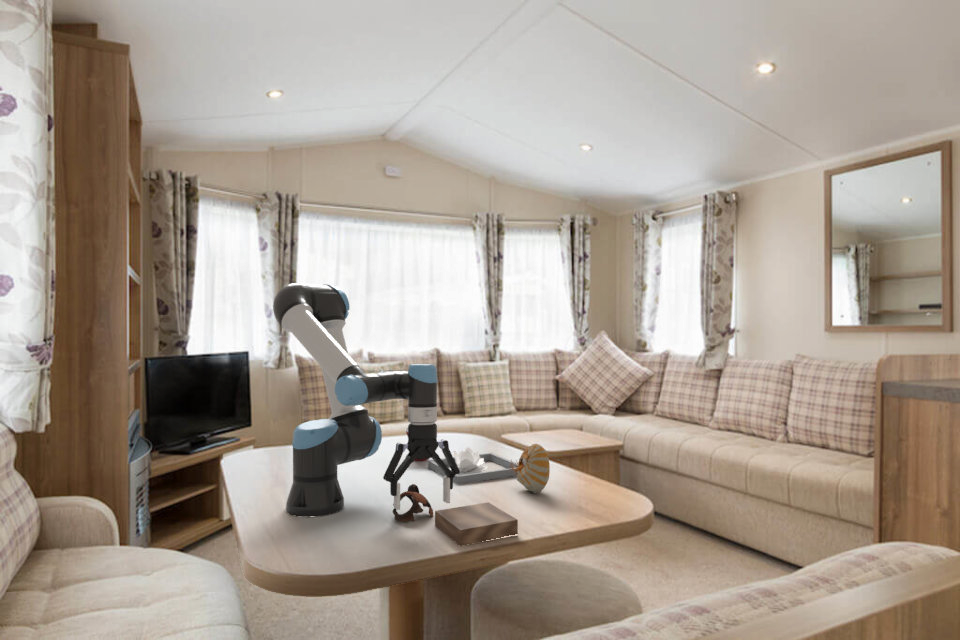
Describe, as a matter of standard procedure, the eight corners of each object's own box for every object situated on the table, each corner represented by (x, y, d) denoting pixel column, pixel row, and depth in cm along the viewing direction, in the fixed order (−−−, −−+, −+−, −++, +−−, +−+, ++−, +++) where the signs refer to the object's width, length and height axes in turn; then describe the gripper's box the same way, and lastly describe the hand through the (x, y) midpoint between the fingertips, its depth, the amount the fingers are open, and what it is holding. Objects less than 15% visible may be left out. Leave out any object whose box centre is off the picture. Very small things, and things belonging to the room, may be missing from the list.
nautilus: (523, 480, 191) (523, 433, 191) (559, 498, 171) (558, 446, 171) (501, 482, 187) (501, 435, 187) (535, 501, 168) (535, 449, 168)
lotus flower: (435, 476, 196) (435, 449, 196) (459, 466, 209) (459, 441, 209) (472, 481, 189) (471, 454, 189) (494, 471, 202) (494, 446, 202)
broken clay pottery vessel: (437, 525, 151) (420, 510, 146) (406, 540, 153) (388, 525, 148) (433, 487, 160) (417, 472, 156) (404, 502, 162) (387, 487, 157)
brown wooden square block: (460, 552, 133) (460, 530, 133) (435, 531, 146) (434, 510, 146) (517, 540, 139) (517, 519, 139) (488, 521, 153) (488, 502, 153)
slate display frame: (457, 484, 186) (457, 476, 186) (428, 467, 207) (428, 460, 207) (526, 474, 197) (526, 467, 197) (491, 459, 219) (491, 452, 219)
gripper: (380, 427, 145) (379, 514, 143) (471, 421, 156) (471, 502, 155) (371, 424, 151) (370, 507, 150) (459, 419, 163) (459, 496, 162)
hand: (422, 505), depth 153 cm, fingers open, 13 cm apart
